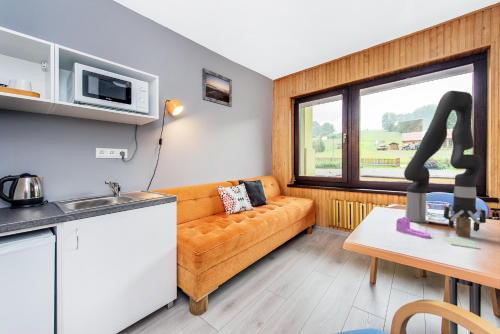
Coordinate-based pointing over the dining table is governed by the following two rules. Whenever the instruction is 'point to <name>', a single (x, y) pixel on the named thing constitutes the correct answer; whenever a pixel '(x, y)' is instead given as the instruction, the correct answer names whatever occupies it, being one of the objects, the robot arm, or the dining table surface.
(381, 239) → the dining table surface
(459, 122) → the robot arm
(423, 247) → the dining table surface
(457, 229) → the walnut block
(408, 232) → the bracket
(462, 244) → the mat
